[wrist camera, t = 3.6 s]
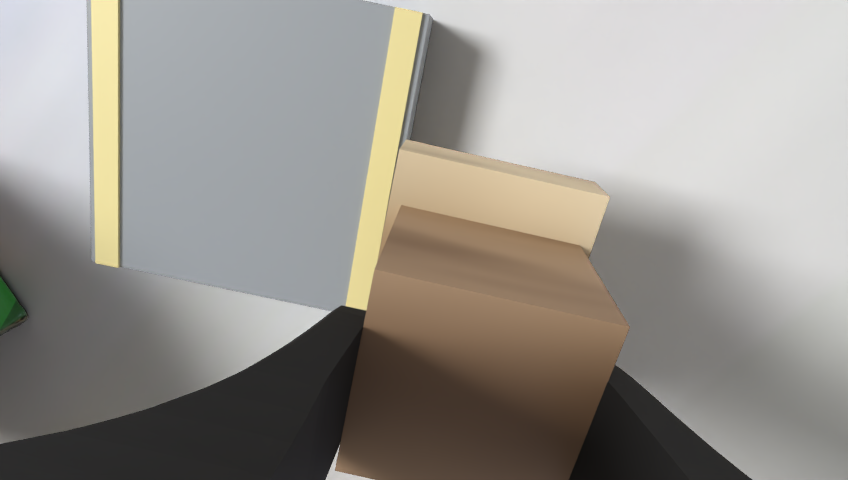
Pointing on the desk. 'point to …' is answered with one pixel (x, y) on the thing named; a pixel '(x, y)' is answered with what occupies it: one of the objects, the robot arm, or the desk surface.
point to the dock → (250, 140)
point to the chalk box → (9, 310)
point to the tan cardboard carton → (481, 325)
